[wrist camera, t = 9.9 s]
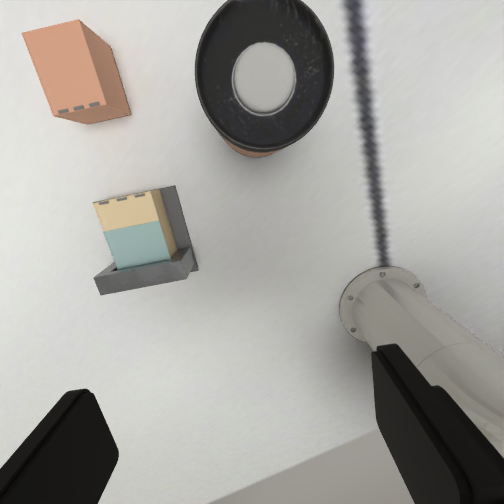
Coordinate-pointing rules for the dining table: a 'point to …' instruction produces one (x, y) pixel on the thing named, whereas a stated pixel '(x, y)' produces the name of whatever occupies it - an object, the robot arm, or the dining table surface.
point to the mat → (176, 219)
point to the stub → (77, 73)
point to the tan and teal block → (137, 229)
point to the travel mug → (264, 73)
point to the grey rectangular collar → (145, 273)
